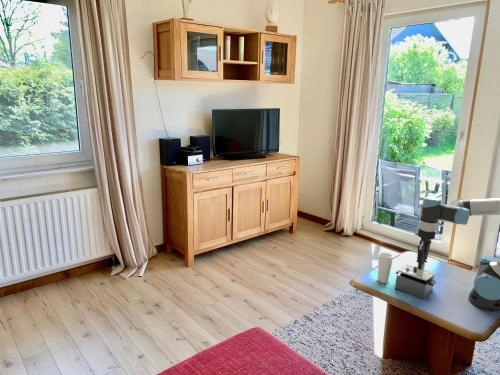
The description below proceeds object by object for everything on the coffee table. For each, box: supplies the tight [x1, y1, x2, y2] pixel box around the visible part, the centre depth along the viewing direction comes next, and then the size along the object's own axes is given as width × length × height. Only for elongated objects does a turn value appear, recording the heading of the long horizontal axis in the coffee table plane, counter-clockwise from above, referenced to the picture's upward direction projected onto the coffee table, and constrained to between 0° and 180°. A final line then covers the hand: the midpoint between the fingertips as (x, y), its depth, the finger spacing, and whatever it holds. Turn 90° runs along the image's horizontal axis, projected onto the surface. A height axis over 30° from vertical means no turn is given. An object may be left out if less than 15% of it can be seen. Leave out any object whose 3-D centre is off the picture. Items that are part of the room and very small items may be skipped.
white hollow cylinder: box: [377, 252, 394, 284], centre depth 193 cm, size 7×7×15 cm
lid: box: [397, 264, 436, 281], centre depth 185 cm, size 14×14×3 cm
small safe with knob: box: [394, 270, 437, 301], centre depth 186 cm, size 18×14×8 cm
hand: (419, 274), depth 180 cm, fingers closed
